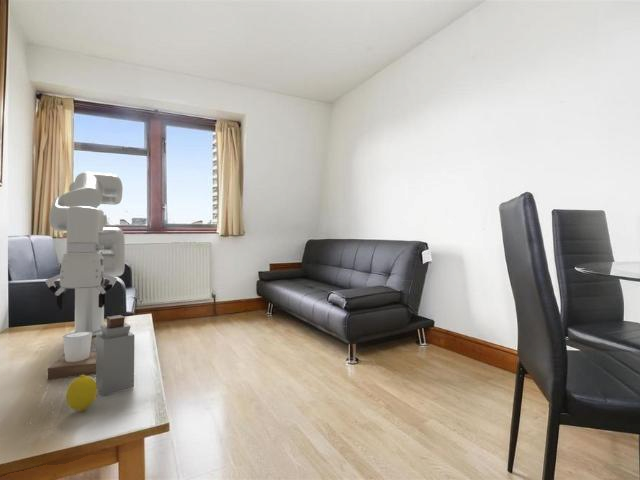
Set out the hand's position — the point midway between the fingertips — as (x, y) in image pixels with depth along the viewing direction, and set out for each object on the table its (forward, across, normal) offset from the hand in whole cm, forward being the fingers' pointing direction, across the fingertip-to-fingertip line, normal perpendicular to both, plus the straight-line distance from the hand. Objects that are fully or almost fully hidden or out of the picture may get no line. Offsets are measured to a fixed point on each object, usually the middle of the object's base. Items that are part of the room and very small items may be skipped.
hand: (82, 307), depth 97 cm
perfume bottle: (+18, -12, +17) cm, 28 cm away
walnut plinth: (+18, 0, 0) cm, 18 cm away
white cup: (+15, +1, 0) cm, 15 cm away
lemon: (+18, -8, +28) cm, 34 cm away
